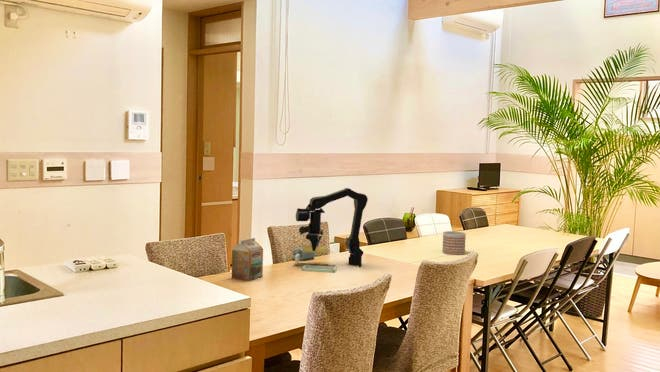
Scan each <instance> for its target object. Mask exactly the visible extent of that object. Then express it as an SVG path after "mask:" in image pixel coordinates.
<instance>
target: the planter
mask: <svg viewBox="0 0 660 372" xmlns="http://www.w3.org/2000/svg"><path fill="white" fill-rule="evenodd" d="M466 236H467V235H466V232H463V231H456V230H455V231H453V230H452V231H451V230H449V231H448V230H447V231H443V233H442V253H443V254H445V255H453V256H462V255H465V253H466Z"/></svg>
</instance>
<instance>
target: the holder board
mask: <svg viewBox="0 0 660 372" xmlns="http://www.w3.org/2000/svg"><path fill="white" fill-rule="evenodd" d="M304 265H311V266H328V267H337V265H336V264H326V263H313V262H312V263H310V262H297V264H295V263H293V265H292V267H298V268H302V267H303V266H304Z"/></svg>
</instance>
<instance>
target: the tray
mask: <svg viewBox="0 0 660 372" xmlns="http://www.w3.org/2000/svg"><path fill="white" fill-rule="evenodd" d="M337 270H338V267H337V266H335V267H328V266H311V265H304V266H303V267H301V271H302V272H314V273H329V274H330V273H331V274H333V273H336V271H337Z"/></svg>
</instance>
